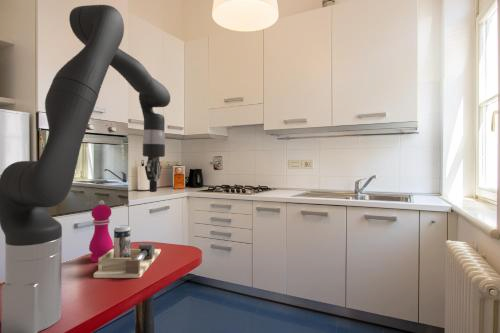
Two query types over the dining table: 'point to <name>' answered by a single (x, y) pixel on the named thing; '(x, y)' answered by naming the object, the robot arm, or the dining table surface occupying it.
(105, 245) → the pink pepper grinder
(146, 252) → the silver and grey bar
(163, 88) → the robot arm
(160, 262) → the dining table surface
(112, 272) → the birch holder
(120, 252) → the beer can
